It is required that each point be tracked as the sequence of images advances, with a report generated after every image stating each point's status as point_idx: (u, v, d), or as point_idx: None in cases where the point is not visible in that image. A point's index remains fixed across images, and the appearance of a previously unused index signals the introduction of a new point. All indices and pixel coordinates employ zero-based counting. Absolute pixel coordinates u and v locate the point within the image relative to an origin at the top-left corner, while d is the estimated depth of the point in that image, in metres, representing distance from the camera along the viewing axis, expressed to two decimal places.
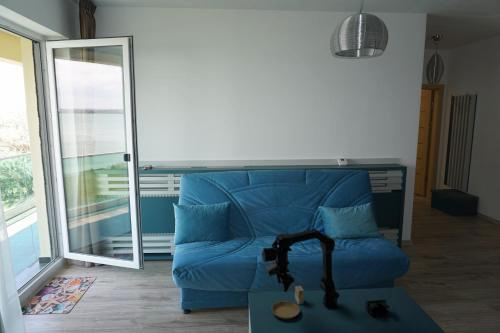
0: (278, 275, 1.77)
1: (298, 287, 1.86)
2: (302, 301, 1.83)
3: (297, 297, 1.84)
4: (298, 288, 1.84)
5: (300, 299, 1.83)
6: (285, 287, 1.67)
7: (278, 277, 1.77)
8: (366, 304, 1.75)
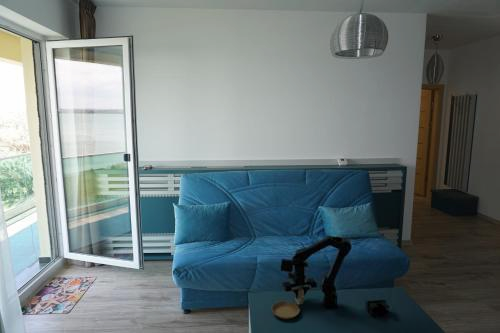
0: None
1: (298, 287, 1.86)
2: (302, 301, 1.83)
3: None
4: (298, 288, 1.84)
5: (300, 299, 1.83)
6: (294, 294, 1.85)
7: None
8: (366, 304, 1.75)
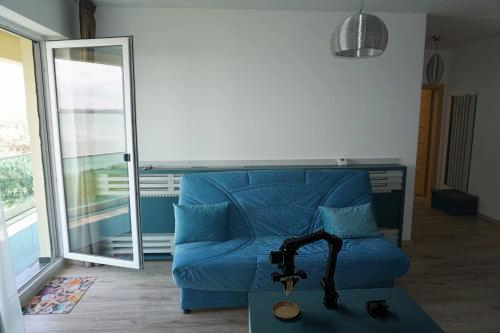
0: None
1: (287, 278, 1.76)
2: (291, 293, 1.74)
3: (286, 288, 1.75)
4: (287, 279, 1.75)
5: (288, 291, 1.74)
6: (283, 285, 1.75)
7: None
8: (366, 304, 1.75)
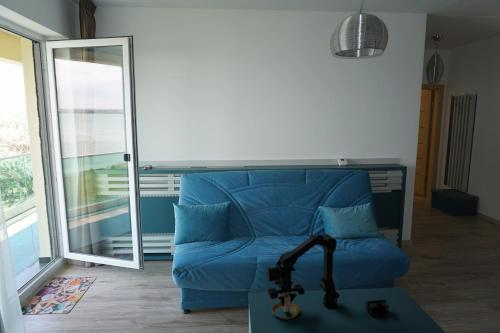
0: None
1: None
2: (289, 308, 1.73)
3: None
4: (284, 295, 1.74)
5: (286, 307, 1.72)
6: None
7: None
8: (366, 304, 1.75)
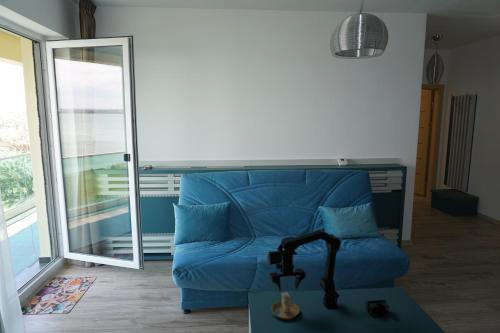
0: (295, 280, 1.76)
1: (284, 293, 1.75)
2: (289, 308, 1.73)
3: (283, 304, 1.73)
4: (284, 294, 1.74)
5: (286, 306, 1.72)
6: (277, 286, 1.74)
7: (295, 282, 1.76)
8: (366, 304, 1.75)
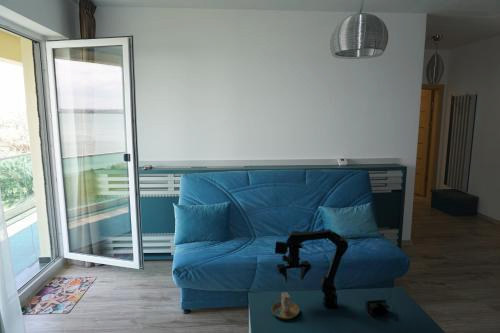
0: (301, 272, 1.85)
1: (284, 293, 1.75)
2: (288, 308, 1.73)
3: (283, 304, 1.73)
4: (284, 294, 1.74)
5: (285, 306, 1.72)
6: None
7: (301, 274, 1.85)
8: (366, 304, 1.75)
